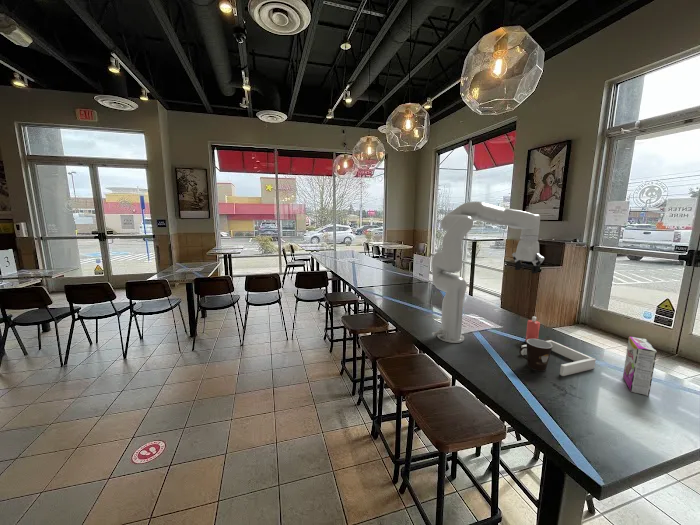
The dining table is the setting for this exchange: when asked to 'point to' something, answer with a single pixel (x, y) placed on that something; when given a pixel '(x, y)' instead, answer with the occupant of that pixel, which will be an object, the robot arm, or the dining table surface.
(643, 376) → the candy bar box
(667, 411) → the dining table surface
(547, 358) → the coffee mug
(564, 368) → the open u-shaped frame
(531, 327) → the squeeze bottle
